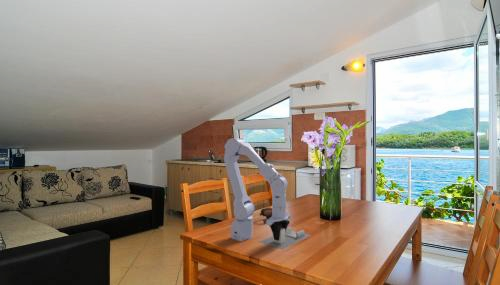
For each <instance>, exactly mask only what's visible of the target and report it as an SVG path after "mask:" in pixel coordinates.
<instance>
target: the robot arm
mask: <svg viewBox="0 0 500 285" xmlns="http://www.w3.org/2000/svg"><path fill="white" fill-rule="evenodd" d="M223 147H224V155H223V161H224V164H225V170H226V173H227V175H228V179H229V183H230V186H231V189H232V192H233V196H234V200H233V215H234V217H235V218H236V219H235V220H234V221H232V223H231V224H230V239H232V240H235V241H238V242H243V241H247V240H250V239H252V238H254V236H253V235H254V233H253V232H254V226H253V224H254V222H253V221H254V218H253V217H254V216H253V214H254V213H255V212H256V211H255V210H256V207H255V204H254V203H253V202H252V199H251V197H250V196H248V194H247V191H246V188H245V184H244V181H243V177H242V173H241V170H240V167H239V164H238V160H239V158H240V156H241V155H243V156H246V157H247V158H249V160H250V161H251V162H252V163H254V165H255V166H256V167H257V168H258V172H259V174H260V175H261V176H262V177H263V178H264V179H265V181H266V182H268V183H269V186H270V189H271V191H272V199H271V200H272V201H271V202H272V204H271V205H272V207H271V208H272V217H270V218H269V219H267V220H266V225H267V226H269V228H270V229H271V233H272V236H273V237H274V240H279V237H280V229H281V228H285V232H286V229H287V228H288V227H289V224H290V219H291V218H292V214H291V213H289V212H287V187H288V185H289V182H288V180H287V178H286V177H285V176H283V175H282V174H281V173H279V172H278V171H277V170H276V169H275V168H274V167H275V166H274V165H273V164H271V163H268V162H267V163H266V162H265V161H264V159H262V158H261V157H260V155H259V154H258V153H257V152H256V151H255V149H254V148H253V147H252V146H251V144H250V143H249V142H248V141H247V140H246V139H245V138H242V137H240V138H233V137H232V138H229V139H228V140H227V141H226V143H225V145H224V146H223Z"/></svg>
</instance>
